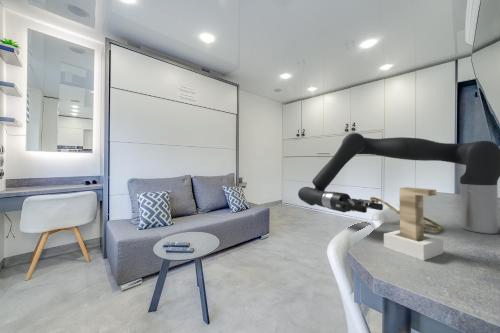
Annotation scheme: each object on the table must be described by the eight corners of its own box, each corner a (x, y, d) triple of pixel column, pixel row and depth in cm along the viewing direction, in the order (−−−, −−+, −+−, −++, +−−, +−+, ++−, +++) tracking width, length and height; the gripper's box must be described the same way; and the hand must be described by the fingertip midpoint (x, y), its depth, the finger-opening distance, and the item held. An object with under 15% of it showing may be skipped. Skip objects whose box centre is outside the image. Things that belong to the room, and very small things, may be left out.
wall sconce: (443, 222, 68) (370, 188, 87) (429, 244, 71) (361, 207, 90) (451, 216, 76) (382, 187, 95) (438, 237, 79) (374, 204, 98)
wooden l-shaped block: (408, 246, 61) (407, 187, 61) (437, 255, 55) (436, 189, 55) (400, 248, 59) (399, 188, 59) (429, 258, 53) (428, 190, 53)
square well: (403, 241, 65) (403, 229, 65) (443, 253, 56) (442, 238, 56) (383, 246, 61) (383, 233, 61) (423, 260, 52) (423, 245, 52)
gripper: (322, 193, 80) (360, 199, 65) (347, 191, 86) (387, 196, 71) (323, 212, 80) (360, 222, 65) (348, 208, 86) (387, 217, 71)
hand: (374, 208), depth 68 cm, fingers open, 8 cm apart
